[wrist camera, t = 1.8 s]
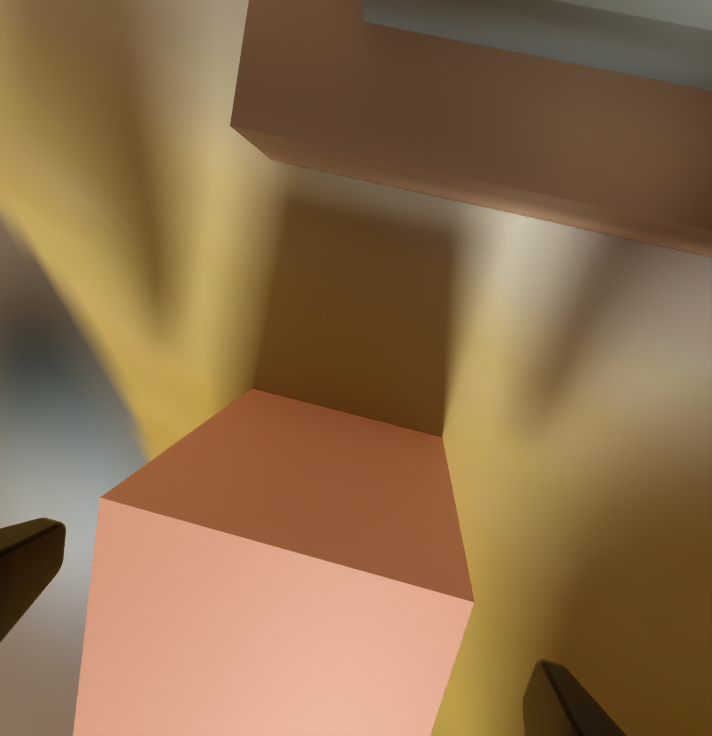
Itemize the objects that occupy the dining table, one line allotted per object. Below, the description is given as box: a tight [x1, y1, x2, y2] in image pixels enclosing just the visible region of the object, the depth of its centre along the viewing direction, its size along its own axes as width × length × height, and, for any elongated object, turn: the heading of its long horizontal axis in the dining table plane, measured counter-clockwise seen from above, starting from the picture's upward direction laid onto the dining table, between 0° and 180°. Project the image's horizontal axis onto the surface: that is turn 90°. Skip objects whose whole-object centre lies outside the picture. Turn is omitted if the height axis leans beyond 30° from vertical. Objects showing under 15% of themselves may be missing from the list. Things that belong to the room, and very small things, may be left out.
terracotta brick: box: [73, 389, 474, 736], centre depth 9 cm, size 5×5×6 cm
